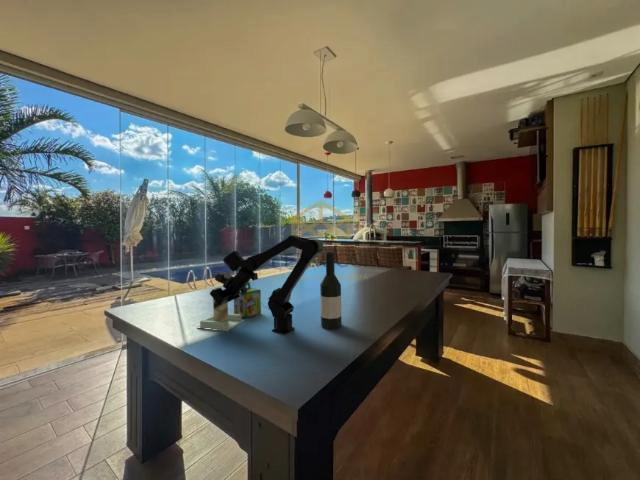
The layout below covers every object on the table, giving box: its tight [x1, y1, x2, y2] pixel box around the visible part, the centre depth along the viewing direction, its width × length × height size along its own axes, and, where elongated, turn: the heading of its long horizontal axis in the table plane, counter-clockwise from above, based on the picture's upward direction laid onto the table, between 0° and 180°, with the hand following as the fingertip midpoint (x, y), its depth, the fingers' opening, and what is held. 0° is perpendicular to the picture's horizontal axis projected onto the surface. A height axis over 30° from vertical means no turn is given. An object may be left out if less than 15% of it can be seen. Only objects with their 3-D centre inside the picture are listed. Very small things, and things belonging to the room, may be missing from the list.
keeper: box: [197, 313, 245, 332], centre depth 114 cm, size 14×12×3 cm
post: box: [212, 298, 229, 323], centre depth 114 cm, size 4×4×13 cm
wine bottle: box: [319, 250, 342, 330], centre depth 110 cm, size 8×8×30 cm
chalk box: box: [233, 281, 262, 319], centre depth 128 cm, size 9×9×15 cm
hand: (217, 305), depth 114 cm, fingers open, 5 cm apart
